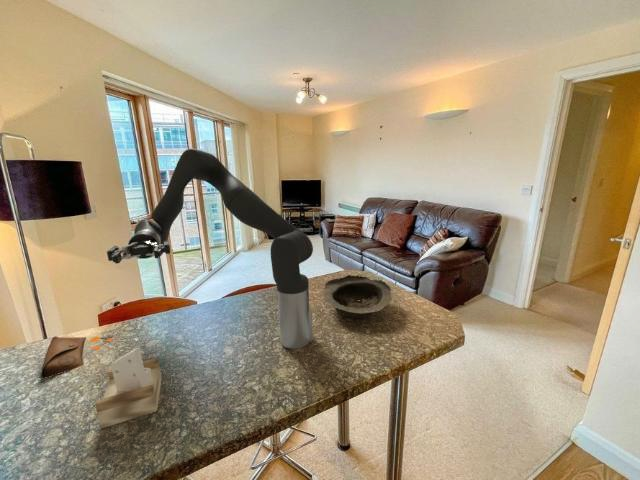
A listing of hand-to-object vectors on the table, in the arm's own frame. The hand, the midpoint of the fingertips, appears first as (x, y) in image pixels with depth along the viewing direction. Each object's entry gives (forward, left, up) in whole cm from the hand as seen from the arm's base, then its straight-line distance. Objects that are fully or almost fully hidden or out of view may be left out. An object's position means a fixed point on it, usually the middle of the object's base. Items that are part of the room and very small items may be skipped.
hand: (136, 257), depth 70 cm
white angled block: (+2, +14, -26) cm, 30 cm away
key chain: (+17, -18, -31) cm, 39 cm away
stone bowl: (-65, 0, -30) cm, 72 cm away
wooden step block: (+3, +14, -30) cm, 33 cm away
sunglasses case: (+24, -14, -31) cm, 41 cm away
